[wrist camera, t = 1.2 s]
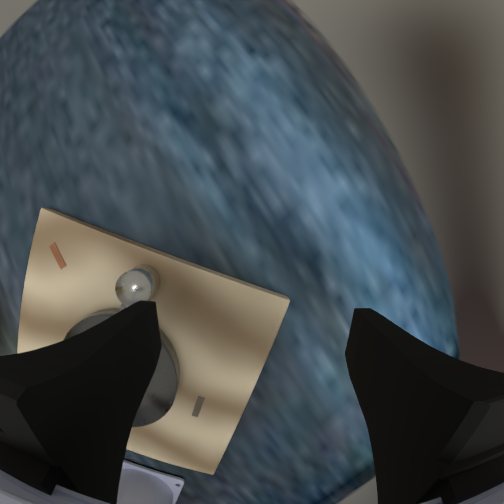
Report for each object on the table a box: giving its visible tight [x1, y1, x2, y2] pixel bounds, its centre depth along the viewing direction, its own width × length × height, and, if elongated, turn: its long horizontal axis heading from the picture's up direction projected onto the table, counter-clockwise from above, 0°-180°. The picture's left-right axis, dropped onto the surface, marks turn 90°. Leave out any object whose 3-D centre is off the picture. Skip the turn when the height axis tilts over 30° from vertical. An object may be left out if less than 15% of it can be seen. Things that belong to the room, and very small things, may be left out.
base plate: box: [17, 208, 290, 475], centre depth 22 cm, size 18×20×2 cm
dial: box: [64, 265, 180, 427], centre depth 19 cm, size 13×9×3 cm
